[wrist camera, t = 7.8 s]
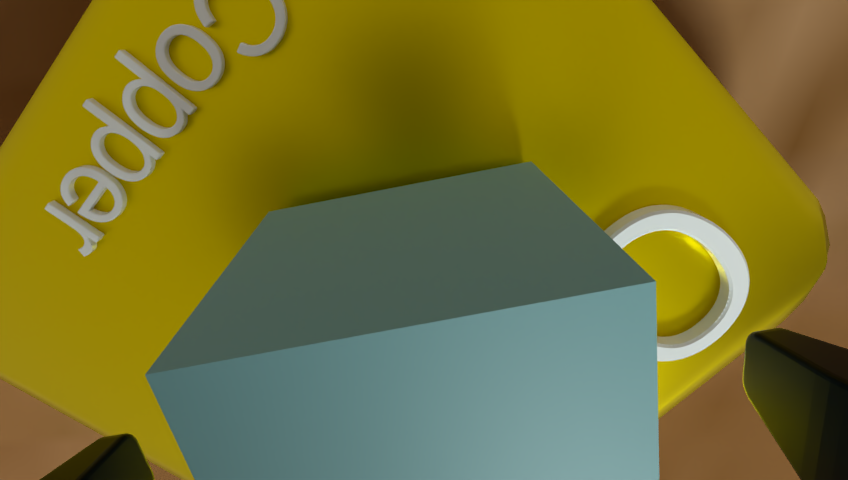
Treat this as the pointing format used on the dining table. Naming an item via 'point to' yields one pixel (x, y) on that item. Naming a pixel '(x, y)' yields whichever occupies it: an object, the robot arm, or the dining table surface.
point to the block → (421, 343)
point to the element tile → (369, 170)
